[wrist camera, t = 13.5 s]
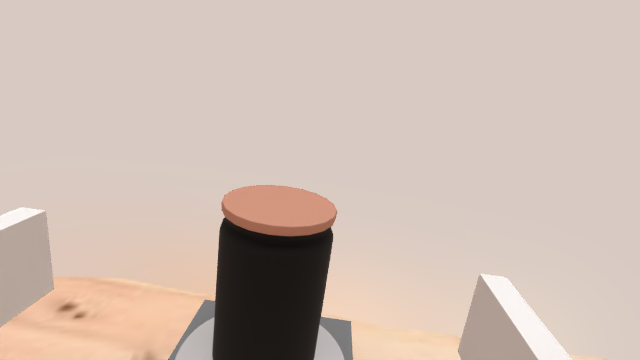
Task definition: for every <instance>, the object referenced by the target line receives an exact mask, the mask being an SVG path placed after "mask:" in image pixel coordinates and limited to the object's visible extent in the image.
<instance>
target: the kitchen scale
mask: <svg viewBox="0 0 640 360" xmlns="http://www.w3.org/2000/svg"><path fill="white" fill-rule="evenodd" d="M214 316H215V301H210V300H205V301H204V302H203V304H202V305H201V307H200V309H199V310H198V312H197V314H196V315H195V317H194V318H193V320H192V322H191V323H190V325H189V327H188V328H187V330H186V331H185V333H184V335H183V336H182V338H181V340H180V341H179V343H178V344H177V346H176V348H175V349H174V351H173V353H172V354H171V356H170V358H169V359H168V360H213V357H212V349H213V332H214ZM314 360H353V357H352V336H351V321H345V320H338V319H331V318H325V317H321V319H320V325H319V331H318V338H317V344H316V350H315V357H314Z"/></svg>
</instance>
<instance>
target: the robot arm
mask: <svg viewBox="0 0 640 360" xmlns="http://www.w3.org/2000/svg"><path fill="white" fill-rule="evenodd" d="M53 289H54V283H53V274H52V265H51V255H50V246H49V237H48V227H47V217H46V211H45V210H39V209H31V208H24V207H21V208H18V209H15V210H13V211H10V212H8V213H5V214H3V215H0V327H2V326H3V325H4V324H6V323H7V322H8V321H10V320H11V319H13V318H14V317H15V316H17V315H18V314H20V313H21V312H22V311H24V310H25V309H27V308H28V307H29V306H31V305H32V304H34V303H35V302H36V301H38V300H39V299H41V298H42V297H43V296H45V295H46V294H48V293H49V292H50V291H52V290H53ZM458 353H459V355H460V357H461V360H572V359H571V358H570V356H569V355H568V354H567V353H566V351H565V350H564V349H563V348H562V346H561V345H560V344H559V343H558V341H557V340H556V339H555V338H554V336H553V335H552V334H551V333H550V331H549V330H548V329H547V328H546V326H545V325H544V324H543V323H542V321H541V320H540V319H539V318H538V316H537V315H536V314H535V313H534V312H533V310H532V309H531V308H530V307H529V305H528V304H527V303H526V301H525V300H524V299H523V298H522V296H521V295H520V294H519V293H518V291H517V290H516V289H515V288H514V286H513V285H512V284H511V283H510V282H509V280H508V279H507V278H506V277H500V276H493V275H486V274H480V275H479V278H478V281H477V285H476V289H475V292H474V295H473V299H472V303H471V306H470V310H469V313H468V317H467V321H466V324H465V327H464V331H463V335H462V338H461V342H460V345H459V349H458Z"/></svg>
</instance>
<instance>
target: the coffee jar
mask: <svg viewBox="0 0 640 360" xmlns="http://www.w3.org/2000/svg"><path fill="white" fill-rule="evenodd" d="M222 211H223V213H224V215H225V218H224V219H223V222H222V224H221V227H220V235H219V250H218V266H217V283H216V299H215V316H214V332H213V349H212V357H213V360H314V357H315V350H316V344H317V338H318V331H319V325H320V319H321V312H322V306H323V300H324V293H325V287H326V280H327V274H328V268H329V261H330V255H331V249H332V242H333V233H332V230H331V226H332V225H333V223H334V221H335V218H336V214H337V210H336V208H335V206H334V204H333V203H331V202H330V201H329V200H328V199H326V198H324V197H322V196H320V195H318V194H316V193H312V192H309V191H306V190H303V189H297V188H292V187H285V186H275V185H257V186H248V187H242V188H239V189H236V190H232V191H231V192H229V193H228V194H226V195H225V196H224V198H223V200H222Z"/></svg>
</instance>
